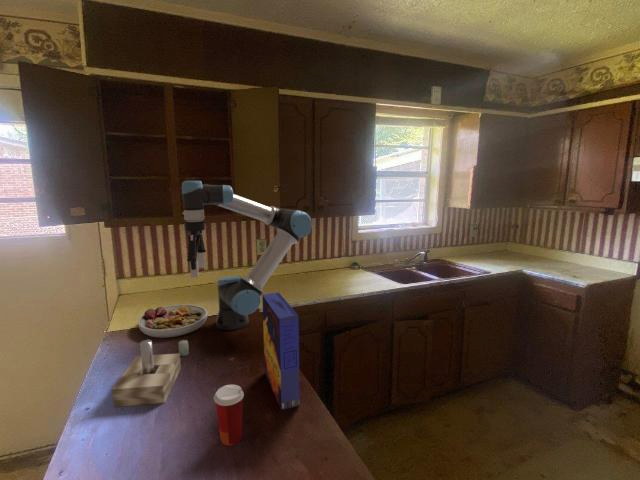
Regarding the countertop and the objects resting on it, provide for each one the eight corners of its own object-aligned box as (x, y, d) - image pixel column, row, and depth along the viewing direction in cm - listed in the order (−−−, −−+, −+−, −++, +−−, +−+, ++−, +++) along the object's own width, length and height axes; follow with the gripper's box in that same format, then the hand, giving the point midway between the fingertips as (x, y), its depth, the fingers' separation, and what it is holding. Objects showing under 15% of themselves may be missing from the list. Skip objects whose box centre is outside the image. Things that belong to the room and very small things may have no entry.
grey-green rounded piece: (189, 351, 142) (189, 339, 141) (187, 355, 138) (186, 344, 137) (180, 351, 141) (179, 340, 140) (178, 356, 138) (177, 344, 137)
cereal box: (264, 373, 126) (262, 294, 121) (280, 369, 128) (279, 292, 123) (281, 410, 106) (278, 317, 101) (299, 405, 108) (298, 314, 103)
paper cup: (247, 427, 99) (246, 383, 96) (242, 448, 91) (240, 400, 89) (220, 428, 99) (217, 383, 96) (212, 449, 91) (209, 401, 89)
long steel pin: (157, 382, 120) (153, 339, 117) (154, 388, 117) (149, 344, 114) (146, 383, 120) (142, 340, 117) (142, 389, 116) (138, 345, 113)
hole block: (180, 368, 129) (179, 353, 128) (164, 402, 110) (163, 385, 109) (138, 371, 127) (136, 356, 126) (113, 406, 108) (111, 389, 107)
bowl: (217, 314, 179) (216, 300, 178) (190, 342, 150) (188, 325, 148) (161, 312, 182) (160, 298, 180) (124, 339, 153) (122, 322, 151)
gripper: (191, 216, 149) (195, 264, 153) (176, 225, 125) (181, 282, 129) (209, 216, 150) (212, 264, 154) (198, 224, 126) (202, 281, 130)
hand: (198, 272), depth 141 cm, fingers open, 13 cm apart
